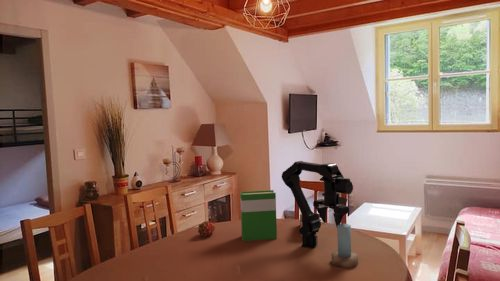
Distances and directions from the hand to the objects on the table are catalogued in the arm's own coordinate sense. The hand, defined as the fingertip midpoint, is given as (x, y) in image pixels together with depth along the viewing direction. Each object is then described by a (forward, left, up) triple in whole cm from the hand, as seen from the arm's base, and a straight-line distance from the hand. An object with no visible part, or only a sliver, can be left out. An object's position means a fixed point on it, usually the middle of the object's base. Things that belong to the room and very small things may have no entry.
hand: (330, 224), depth 170 cm
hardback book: (-40, +7, -13) cm, 43 cm away
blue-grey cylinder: (+8, -9, -10) cm, 16 cm away
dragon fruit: (-68, 0, -13) cm, 69 cm away
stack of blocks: (-21, +27, -13) cm, 36 cm away
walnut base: (+8, -9, -13) cm, 18 cm away
